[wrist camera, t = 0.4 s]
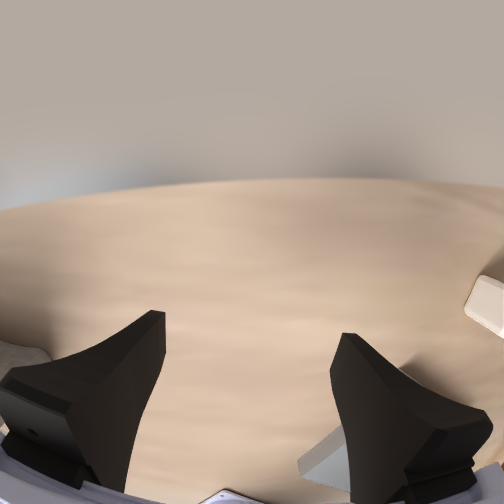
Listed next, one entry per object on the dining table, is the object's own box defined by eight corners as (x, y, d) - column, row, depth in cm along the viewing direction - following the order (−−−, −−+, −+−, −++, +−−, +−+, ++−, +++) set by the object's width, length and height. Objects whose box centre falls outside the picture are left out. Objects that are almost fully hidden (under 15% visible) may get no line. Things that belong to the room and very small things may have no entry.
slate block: (376, 484, 28) (382, 500, 25) (296, 456, 26) (300, 477, 23) (459, 410, 26) (470, 424, 23) (396, 365, 24) (410, 382, 21)
